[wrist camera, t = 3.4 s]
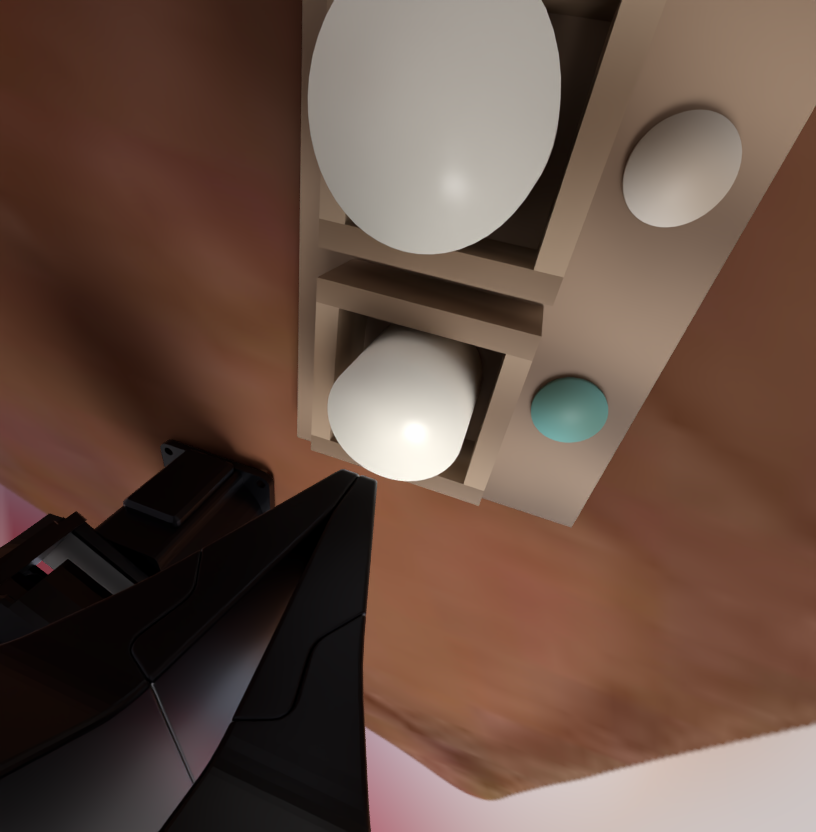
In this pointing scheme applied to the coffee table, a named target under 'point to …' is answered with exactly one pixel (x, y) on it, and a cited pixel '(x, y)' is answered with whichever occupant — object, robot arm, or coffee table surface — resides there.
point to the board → (573, 240)
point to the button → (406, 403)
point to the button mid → (433, 115)
